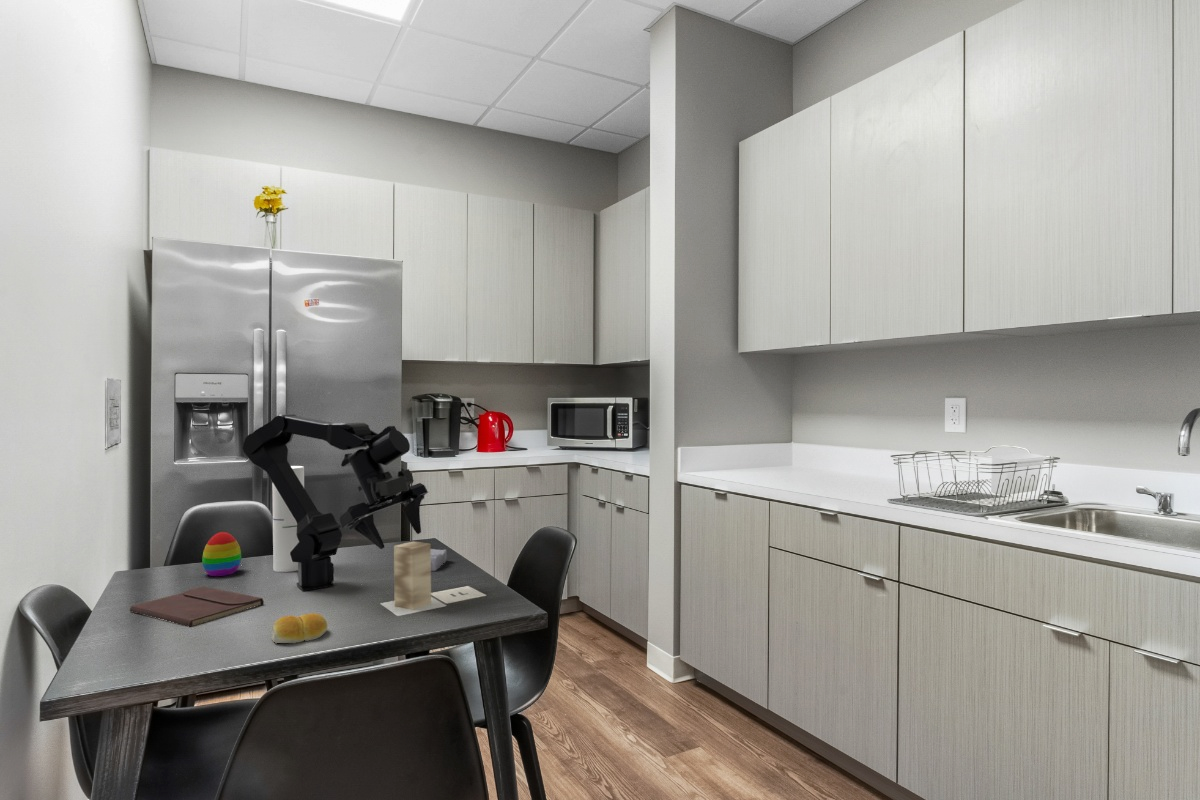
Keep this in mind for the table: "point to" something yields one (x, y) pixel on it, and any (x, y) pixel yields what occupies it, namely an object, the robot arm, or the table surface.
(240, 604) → the notebook
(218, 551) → the decorative egg
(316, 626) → the bread roll
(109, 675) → the table surface
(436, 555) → the stone block
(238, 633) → the table surface
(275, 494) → the cylindrical container
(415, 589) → the maple block
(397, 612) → the grey mat
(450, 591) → the tile
